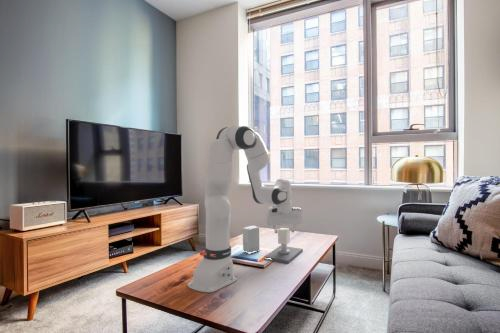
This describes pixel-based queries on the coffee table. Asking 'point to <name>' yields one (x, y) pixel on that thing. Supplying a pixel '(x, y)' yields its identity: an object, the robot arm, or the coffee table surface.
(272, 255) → the post base
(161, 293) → the coffee table surface
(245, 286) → the coffee table surface
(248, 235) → the skincare box
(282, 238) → the white upright block
